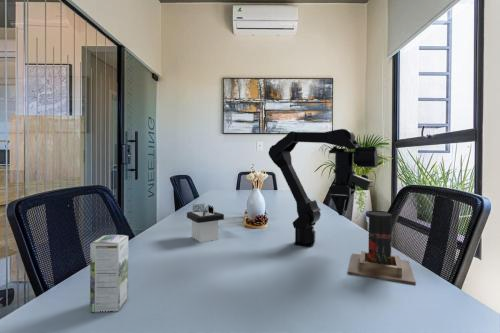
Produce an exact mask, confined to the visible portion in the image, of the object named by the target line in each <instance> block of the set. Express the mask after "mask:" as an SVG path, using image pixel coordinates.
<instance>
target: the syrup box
mask: <svg viewBox="0 0 500 333" xmlns="http://www.w3.org/2000/svg"><path fill="white" fill-rule="evenodd" d="M89 245H90V248H89V250H90V252H89V254H90V255H89V256H90V257H89V264H90V265H89V266H90V268H89V269H90V270H89V274H90V275H89V284H90V286H89V291H90V292H89V303H90V304H89V312H90V313H91V312H94V313H110V311H113V312H120V310H121V308H122V307H123V306H124V304H125V303H126V301H127V300H128V298H129V235H125V234H108V235H107V234H105V235H102V236H101V237H99V238H97V239H96V240H94V241H92V242H91V243H90V244H89ZM100 311H101V312H100ZM102 311H103V312H102ZM105 311H106V312H105ZM108 311H109V312H108Z"/></svg>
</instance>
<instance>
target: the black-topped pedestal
mask: <svg viewBox="0 0 500 333" xmlns="http://www.w3.org/2000/svg"><path fill="white" fill-rule="evenodd" d="M186 218H187V219H188V220H191V238H192V239H194V238H195V240H196V239H197V240H198V241H197V240H196V241H197V242H199V243H200V242H202V243H206V242H205V241H208V242H212V241H211V240H214V241H217V240H216V239H218V240H219V221H223V220H225V214H224V213H222V212H221V213H220V212H216V211H215V206H212V205H210V204H207V206H206V203H201V204H199V203H198V204H191V211H187V212H186Z"/></svg>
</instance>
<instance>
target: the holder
mask: <svg viewBox="0 0 500 333" xmlns="http://www.w3.org/2000/svg"><path fill="white" fill-rule="evenodd" d="M347 274H348V275H353V276H359V277H366V278H372V279H373V278H374V279H379V280H384V281H389V282H390V281H392V282H397V283H403V284H404V283H405V284H410V285H416V284H417V283H416V279H415V276H414V273H413V269H412V267H411V264H410V261H409V260H405V259H401V258H400V256H399V255H394V254H391V265H385V264H378V263H371V262H368V251H364V250H362V251H361V252H360V253H351V258H350V262H349V266H348V270H347Z"/></svg>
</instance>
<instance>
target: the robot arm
mask: <svg viewBox="0 0 500 333" xmlns="http://www.w3.org/2000/svg"><path fill="white" fill-rule="evenodd" d="M298 143H316V144H317V143H318V144H319V143H320V144H327V145H328V144H329V145H333V147H332V148H331V149H330V150H329V151H328V153H329V154H335V158H334V169H333V174H334V181H333V184H331V186H329V187H328V194H329V196H330V197H331V200H332V202H333V204H334V206H335V209H336V211H337V213H338V214H337V215H339V216H343V215H344V211H345V212H347V211H348V207H349V205H350V204H349V203H350V199H351V197H352V195H353V194H354V193H355V192H356V190H357V188H361V189H362V190H364V191H367V190H368V189H369V188H370V185H371V183H372V180H371V179H369V175H367V174H365V173H364V174H362V175H358V174H355V170H354V165H356V166H357V168H378V165H379V155H378V150H377V146H376V145H374V146H373V145H372V146H360V144H359V143H358V141H356V136H355V133H354V131H351V130H348V129H345V128H337V129H333V130H330V131H322V132H320V131H317V132H316V131H315V132H314V131H312V132H311V131H293V130H292V131H290V132H288V133H287V134H286V135H285V136H284V137H283V138H281V139H279V140H277V142H276V143H275V144H273V145H272V146H270V148H269V151H268V157H269V158H270V159H271V161H272V163H274V164H275V166H277V167H278V168H279V170H280V171H281V173H282V175H283V178H284V180H285V182H286V184H287V186H288V188H289V190H290V192H291V195H292V197H293V198H294V201H295V204H296V213H297V215H298V217H297V218H296V219H294V220H293V221H292V226H293V228H294V229H295V230H294V231H295V232H294V239H295V240H294V242H293V245H296V246H304V247H313V245H314V244H315V243H316V231H315V225H316V224H317V222H318V221H319V220H320V219H321V215H322V214H321V208H320V207H319V205H318V202H317V200H316V199H315V200H311V199H310V198H309V197H308V195H307V193H306V191H305V188H304V186H303V184H302V182H301V180H300V178H299V177H298V175H297V172H296V170H295V168H294V166H293V164H292V155H291V152H293V150H294V149H295V148H296V145H297V144H298ZM338 147H343V148H338ZM344 147H345V148H344ZM348 150H355V151H348Z"/></svg>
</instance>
